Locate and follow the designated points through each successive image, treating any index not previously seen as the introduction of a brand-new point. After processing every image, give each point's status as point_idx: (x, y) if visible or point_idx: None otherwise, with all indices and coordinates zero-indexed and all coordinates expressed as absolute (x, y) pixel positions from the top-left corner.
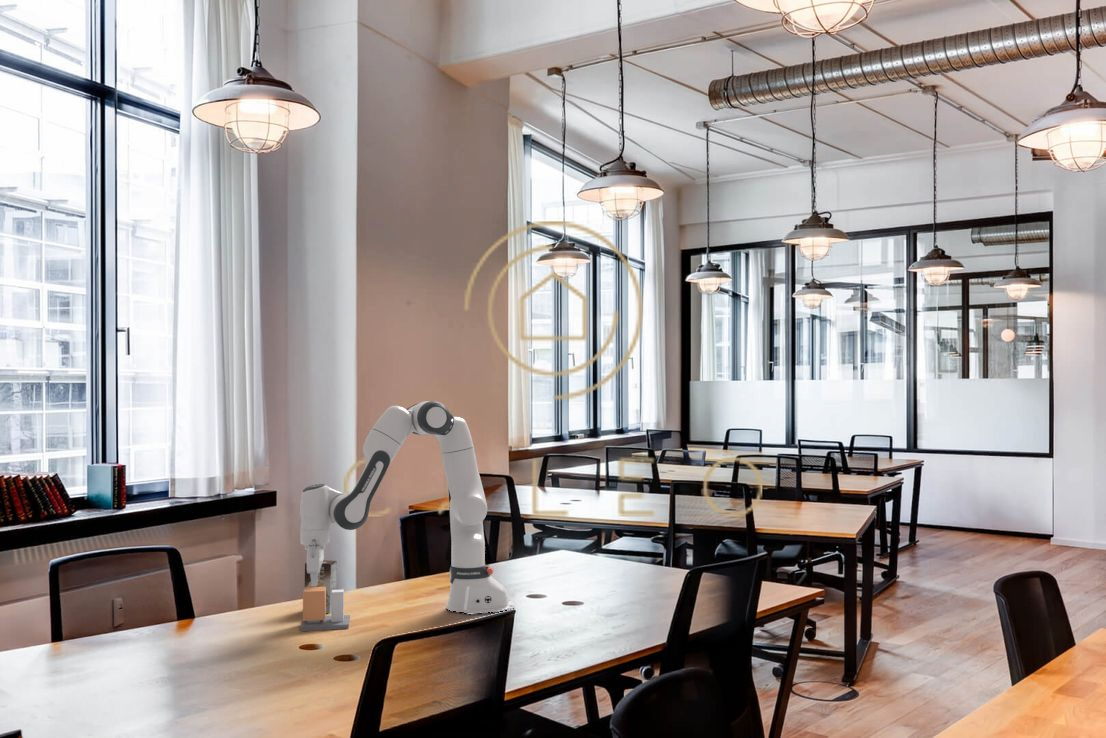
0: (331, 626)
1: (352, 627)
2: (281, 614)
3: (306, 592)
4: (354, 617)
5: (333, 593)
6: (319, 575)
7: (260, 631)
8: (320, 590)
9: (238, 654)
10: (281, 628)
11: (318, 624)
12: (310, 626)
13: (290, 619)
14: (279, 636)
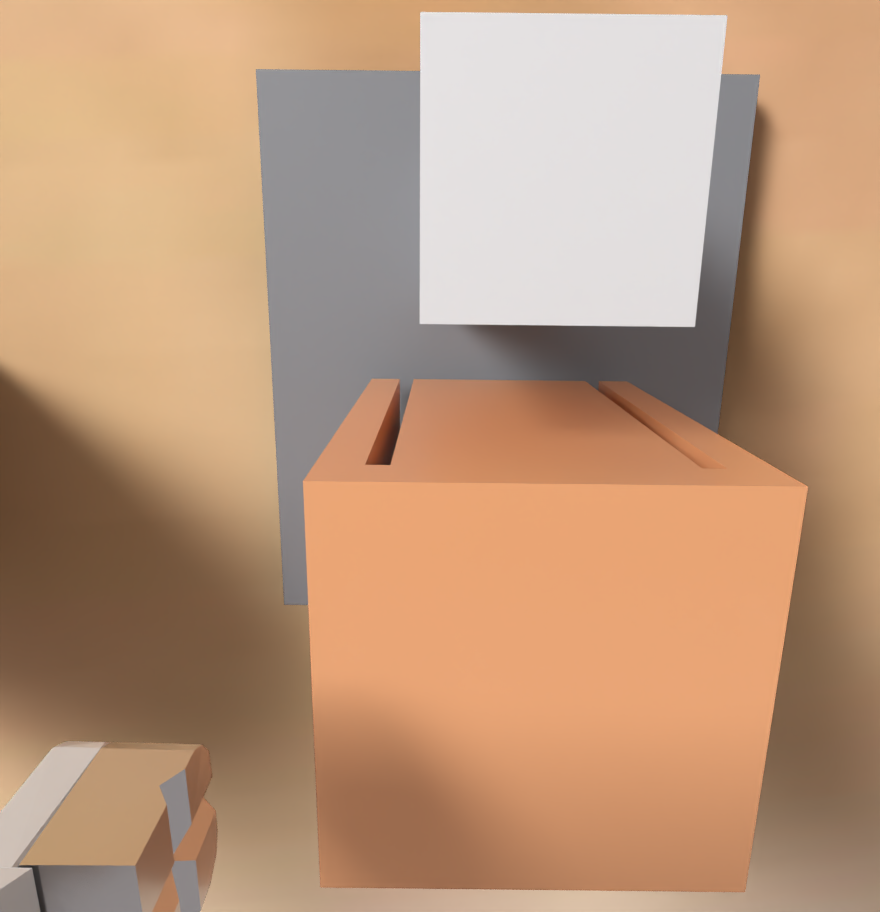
0: (727, 289)
1: None
2: (2, 797)
3: (742, 822)
4: (197, 22)
5: (691, 277)
6: (107, 815)
7: (602, 894)
8: (724, 580)
9: None
10: None
11: None
12: None
13: (210, 708)
14: (825, 745)
